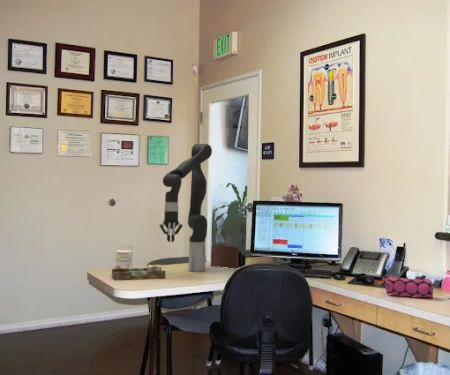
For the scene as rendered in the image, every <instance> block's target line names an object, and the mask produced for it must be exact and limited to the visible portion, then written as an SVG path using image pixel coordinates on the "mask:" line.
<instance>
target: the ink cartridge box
mask: <svg viewBox="0 0 450 375" xmlns="http://www.w3.org/2000/svg"><path fill="white" fill-rule="evenodd" d="M132 262H133V246H132V245H129V244H128V245H127V244H125V245H124V244H123V245H122V244H119V245H118V250H116V251H115V262H114V263H115V267H114V269H120V268H133V266H132V265H133V263H132Z"/></svg>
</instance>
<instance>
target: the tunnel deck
mask: <svg viewBox="0 0 450 375" xmlns="http://www.w3.org/2000/svg"><path fill="white" fill-rule="evenodd" d="M162 269H163V268H162V267H161V271H148V267H132V268H120V269H115V268H111V277H112V279H113V280H114V281H131V280H132V281H133V280H134V281H135V280H156V279H157V280H159V279H160V280H162V279H163V280H164V279H166V270H162Z"/></svg>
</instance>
